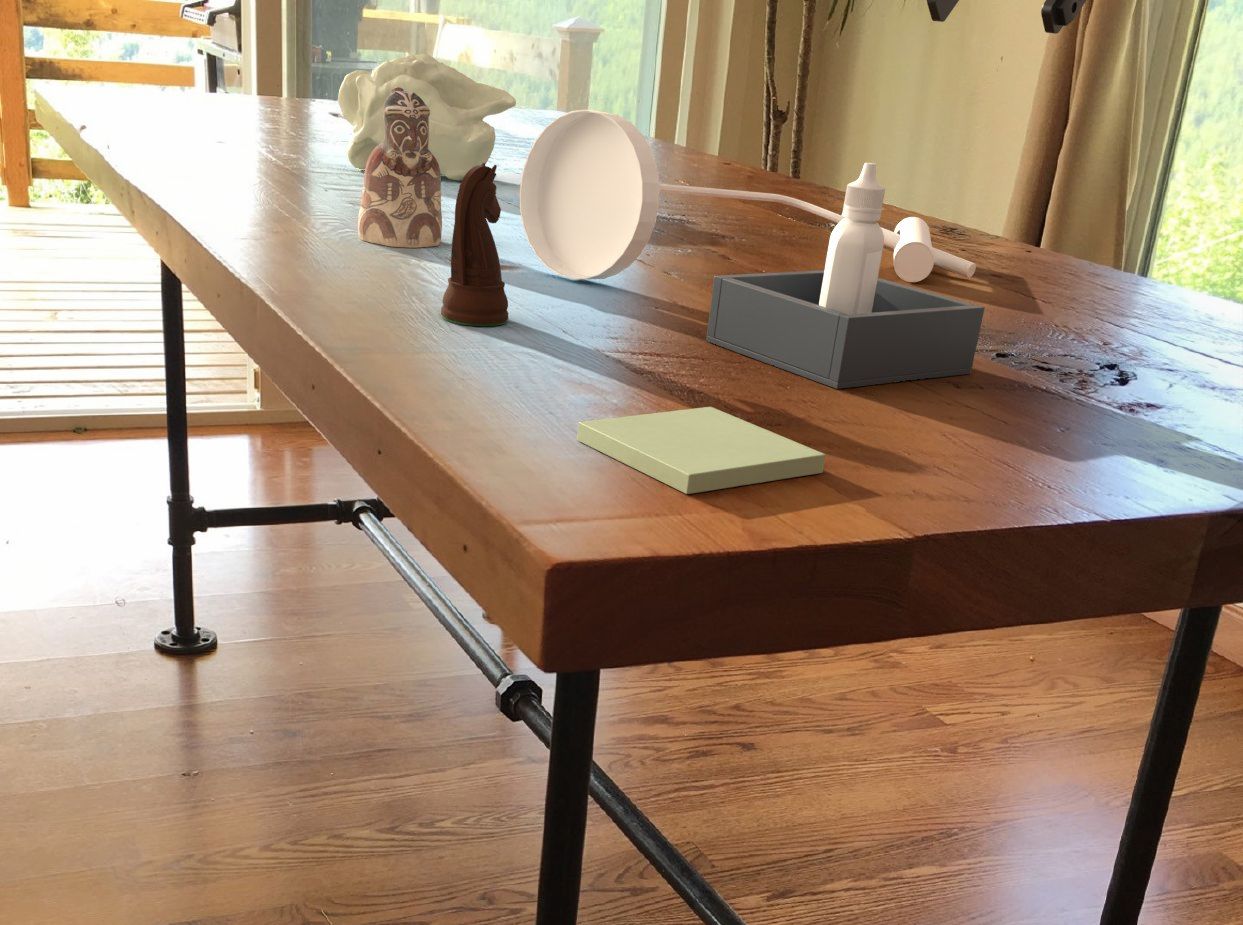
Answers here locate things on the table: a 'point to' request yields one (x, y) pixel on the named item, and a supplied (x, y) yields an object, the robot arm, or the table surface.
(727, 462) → the pad
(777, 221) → the table surface
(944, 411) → the table surface
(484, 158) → the folded clay sculpture
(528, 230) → the desk lamp
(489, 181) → the chess piece
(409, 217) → the figurine
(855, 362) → the bin
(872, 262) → the eye dropper bottle
